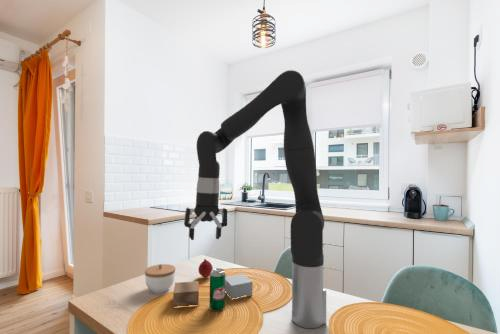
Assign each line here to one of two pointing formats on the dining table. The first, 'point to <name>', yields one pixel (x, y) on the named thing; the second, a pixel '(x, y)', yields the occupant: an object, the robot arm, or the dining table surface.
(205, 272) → the onion
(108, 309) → the dining table surface
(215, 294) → the soda can
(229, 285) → the grey block
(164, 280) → the lidded jar
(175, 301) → the walnut block
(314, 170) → the robot arm
